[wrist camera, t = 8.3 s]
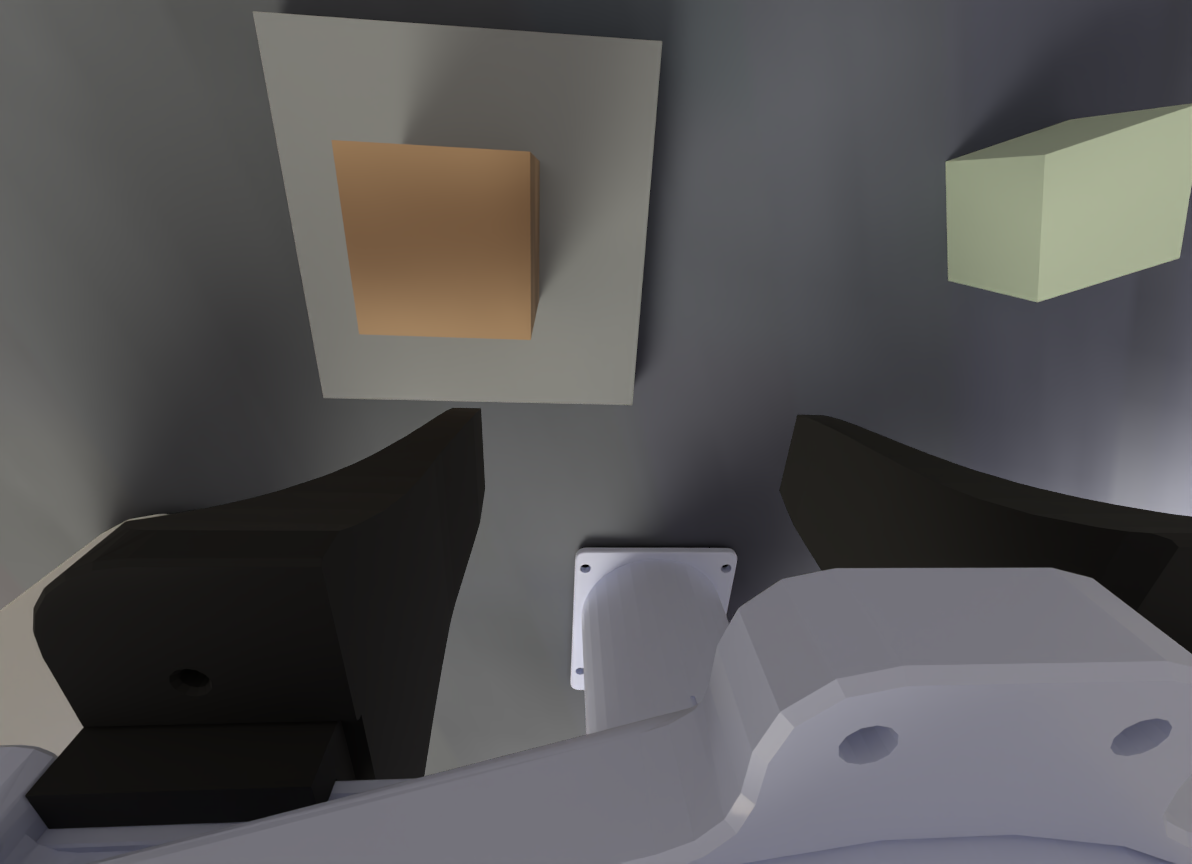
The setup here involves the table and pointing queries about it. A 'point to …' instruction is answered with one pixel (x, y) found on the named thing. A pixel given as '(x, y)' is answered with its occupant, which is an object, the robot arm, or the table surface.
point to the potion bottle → (34, 674)
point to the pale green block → (1071, 203)
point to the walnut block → (441, 239)
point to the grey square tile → (484, 121)
